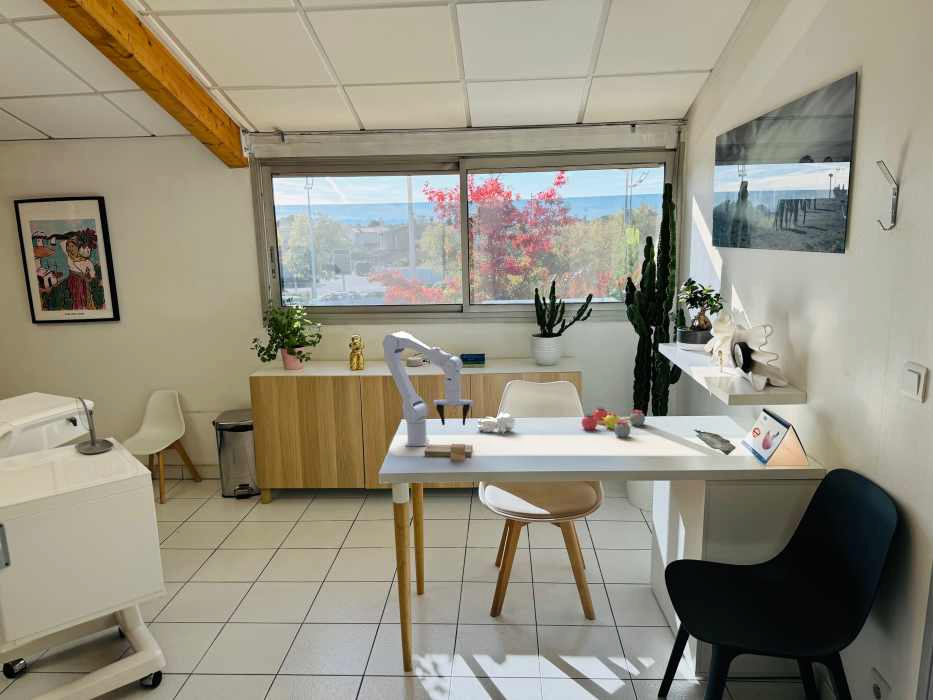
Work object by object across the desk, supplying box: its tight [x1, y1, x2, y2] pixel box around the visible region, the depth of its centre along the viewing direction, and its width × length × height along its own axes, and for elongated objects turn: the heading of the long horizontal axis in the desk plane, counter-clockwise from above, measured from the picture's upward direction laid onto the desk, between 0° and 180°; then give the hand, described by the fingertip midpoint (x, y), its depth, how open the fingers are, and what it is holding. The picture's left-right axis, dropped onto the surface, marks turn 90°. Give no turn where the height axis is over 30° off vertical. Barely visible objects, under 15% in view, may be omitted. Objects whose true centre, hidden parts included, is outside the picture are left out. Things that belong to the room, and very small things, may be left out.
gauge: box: [450, 443, 467, 462], centre depth 235 cm, size 7×5×5 cm
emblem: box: [693, 428, 736, 456], centre depth 249 cm, size 32×10×1 cm, turn 2°
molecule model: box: [581, 406, 646, 439], centre depth 268 cm, size 25×21×6 cm
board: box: [424, 444, 473, 457], centre depth 241 cm, size 8×17×2 cm, turn 86°
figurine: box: [477, 411, 516, 435], centre depth 266 cm, size 11×7×15 cm
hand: (453, 424), depth 244 cm, fingers open, 7 cm apart
